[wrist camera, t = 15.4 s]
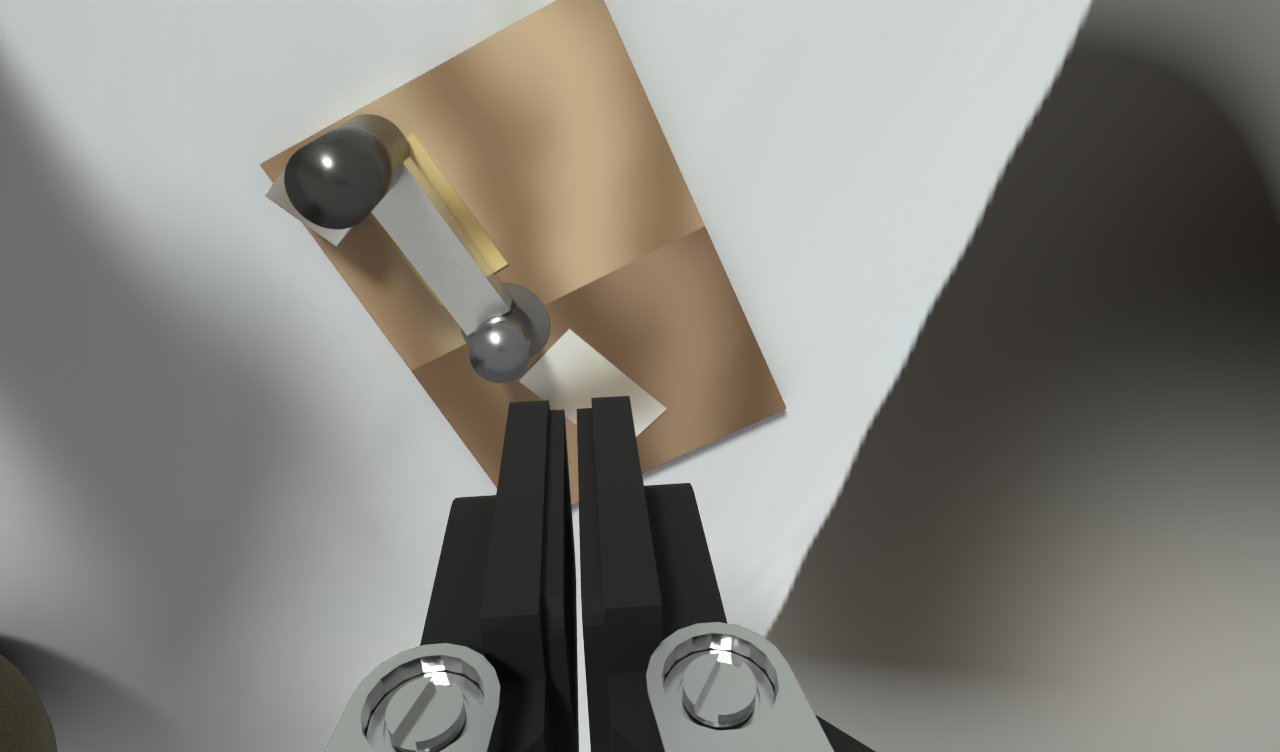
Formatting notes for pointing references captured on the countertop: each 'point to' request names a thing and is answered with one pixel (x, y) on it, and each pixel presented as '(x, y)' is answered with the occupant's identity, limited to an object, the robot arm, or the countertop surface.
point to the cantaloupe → (22, 714)
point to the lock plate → (559, 244)
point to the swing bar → (410, 231)
